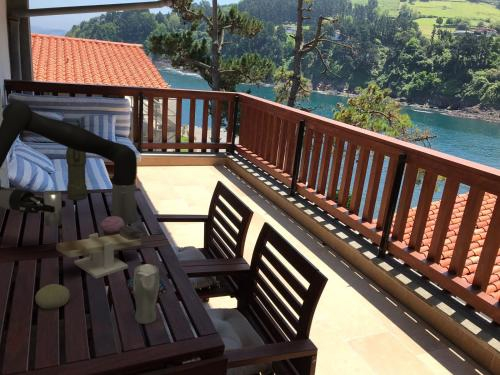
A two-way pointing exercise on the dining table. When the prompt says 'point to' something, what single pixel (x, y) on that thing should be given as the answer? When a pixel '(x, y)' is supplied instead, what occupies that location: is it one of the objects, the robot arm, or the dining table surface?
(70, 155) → the thermos
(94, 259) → the pivot stand
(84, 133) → the robot arm
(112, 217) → the cupcake
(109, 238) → the balance beam
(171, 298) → the dining table surface
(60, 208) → the translucent grey cylinder
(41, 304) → the sea urchin shell
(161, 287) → the woven mat
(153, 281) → the beer glass
